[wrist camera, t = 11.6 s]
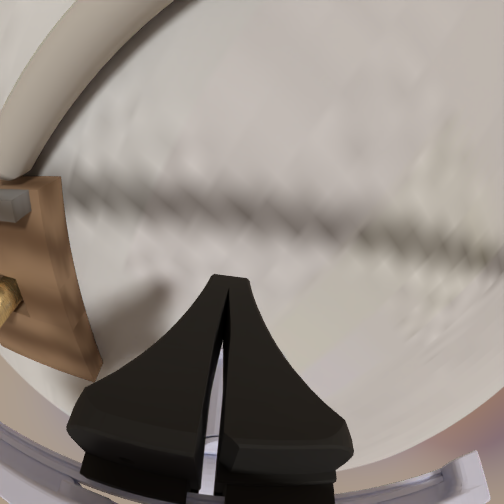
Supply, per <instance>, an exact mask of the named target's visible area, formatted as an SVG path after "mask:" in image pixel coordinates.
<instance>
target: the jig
mask: <svg viewBox="0 0 504 504" xmlns="http://www.w3.org/2000/svg"><path fill="white" fill-rule="evenodd" d="M3 276H8V277H11V278H14V279H16V281H17V284H18V287H19V289H20V292H21V295H22V297H23V299H22V301H21V302H20V303H19V304H18V306H17V307H16V308H15V309H14V311H13V312H12V313H11V315H10V316H9V317H8V318H7V320H6V321H5V322H4V324H3V325H2V327H1V328H0V343H1V345H2V346H3V347H5V348H8V349H10V350H12V351H14V352H16V353H18V354H20V355H23V356H25V357H27V358H30V359H32V360H34V361H37V362H39V363H41V364H44V365H47V366H49V367H52V368H54V369H57V370H60V371H62V372H65V373H68V374H71V375H74V376H77V377H80V378H83V379H86V380H89V381H92V382H95V380H96V378H97V376H98V373H99V371H100V369H101V366H102V364H103V362H102V359H101V356H100V353H99V351H98V348H97V345H96V342H95V339H94V336H93V333H92V330H91V327H90V324H89V321H88V317H87V314H86V311H85V307H84V304H83V300H82V296H81V293H80V289H79V285H78V281H77V276H76V272H75V268H74V263H73V258H72V253H71V248H70V243H69V237H68V231H67V225H66V218H65V211H64V203H63V194H62V184H61V177H58V176H21V177H20V178H17V179H13V180H10V181H8V180H2V179H0V279H1V278H2V277H3Z"/></svg>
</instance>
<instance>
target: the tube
mask: <svg viewBox="0 0 504 504" xmlns="http://www.w3.org/2000/svg"><path fill="white" fill-rule="evenodd" d="M173 1H174V0H76V1H75V2H74V4H73V5H72V6H71V7H70V8H69V9H68V10H67V11H66V13H65V14H64V15H63V16H62V17H61V19H60V20H59V21H58V22H57V23H56V25H55V26H54V27H53V28H52V30H51V31H50V32H49V34H48V35H47V36H46V38H45V39H44V40H43V42H42V43H41V45H40V46H39V47H38V49H37V50H36V52H35V53H34V55H33V56H32V58H31V59H30V61H29V62H28V64H27V65H26V67H25V68H24V70H23V72H22V73H21V75H20V77H19V78H18V80H17V82H16V84H15V85H14V87H13V89H12V91H11V93H10V94H9V96H8V98H7V100H6V102H5V104H4V106H3V108H2V110H1V112H0V179H2V180H8V181H10V180H13V179H17V178H20V177H21V176H22V175H24V174H25V173H27V172H28V171H30V170H31V169H32V167H33V165H34V163H35V161H36V160H37V158H38V156H39V154H40V153H41V151H42V149H43V148H44V146H45V144H46V143H47V141H48V139H49V138H50V136H51V135H52V133H53V132H54V130H55V129H56V127H57V126H58V124H59V123H60V121H61V120H62V118H63V117H64V115H65V114H66V113H67V111H68V110H69V108H70V107H71V106H72V104H73V103H74V102H75V100H76V99H77V98H78V96H79V95H80V94H81V92H82V91H83V90H84V89H85V87H86V86H87V85H88V84H89V83H90V81H91V80H92V79H93V78H94V77H95V75H96V74H97V73H98V72H99V71H100V70H101V68H102V67H103V66H104V65H105V64H106V63H107V62H108V61H109V60H110V59H111V57H112V56H113V55H114V54H115V53H116V52H117V51H118V50H119V49H120V48H121V47H122V46H123V45H124V44H125V43H126V42H127V41H128V40H129V39H130V38H131V37H132V36H133V35H134V34H135V33H136V32H138V31H139V30H140V29H141V28H142V27H143V26H144V25H145V24H146V23H147V22H149V21H150V20H151V19H152V18H153V17H154V16H156V15H157V14H158V13H159V12H160V11H162V10H163V9H164V8H165V7H166V6H168V5H169V4H170V3H172V2H173Z"/></svg>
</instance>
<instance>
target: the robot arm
mask: <svg viewBox="0 0 504 504" xmlns="http://www.w3.org/2000/svg"><path fill="white" fill-rule="evenodd" d="M222 342H223V349H221V346H222ZM67 432H68V434H69V435H70V436H71V438H72V439H73V440H74V441H75V442H76V443H77V444H78V445H79V446H80V447H81V448H82V449H83V450H84V451H85V456H84V459H83V462H82V463H80V462H77V461H75V460H72V459H70V458H68V457H65V456H63V455H61V454H58V453H56V452H54V451H52V450H50V449H48V448H46V447H44V446H42V445H40V444H38V443H36V442H34V441H32V440H30V439H29V438H27V437H25V436H23V435H21V434H20V433H18V432H16V431H15V430H13V429H11V428H10V427H8V426H6V425H5V424H3V423H2V422H0V497H2V498H3V499H4V500H6V501H7V502H8V503H9V504H117V503H115V502H113V501H111V500H110V499H109V498H107V497H104V496H102V495H99V494H97V493H94V492H92V491H89V490H87V489H85V488H83V487H82V486H81V485H80V483H81V484H84V485H87V486H89V487H91V488H94V489H97V490H100V491H102V492H106V493H108V494H111V495H114V496H118V497H121V498H124V499H128V500H131V501H134V502H138V503H142V504H485V503H487V502H488V501H489V500H490V494H489V490H488V486H487V482H486V479H485V475H484V471H483V468H482V464H481V461H480V458H479V455H478V452H477V451H476V450H474V451H472V452H470V453H468V454H465V455H463V456H461V457H458V458H456V459H454V460H452V461H451V462H449V463H447V464H446V465H444V466H443V467H442V468H440V469H437V470H435V471H432V472H429V473H426V474H423V475H420V476H417V477H413V478H410V479H406V480H403V481H399V482H395V483H391V484H387V485H383V486H379V487H374V488H369V489H364V490H359V491H353V492H346V493H340V494H334V488H333V483H334V482H336V469H338V468H339V467H340V466H342V465H343V464H345V463H346V462H347V461H348V460H349V459H350V458H351V457H352V456H353V453H354V449H353V444H352V439H351V436H350V433H349V430H348V427H347V424H346V421H345V420H344V419H343V418H342V417H341V416H339V415H338V414H337V413H336V412H335V411H333V410H332V409H331V408H330V407H329V406H328V405H326V404H325V403H324V402H323V401H322V400H321V399H320V398H319V397H318V396H317V395H316V394H315V393H314V392H313V391H312V390H311V389H310V388H309V387H308V385H307V384H306V383H305V382H304V381H303V380H302V378H301V377H300V376H299V375H298V374H297V373H296V371H295V370H294V369H293V368H292V366H291V365H290V364H289V362H288V361H287V360H286V358H285V356H284V355H283V354H282V352H281V351H280V349H279V348H278V346H277V345H276V343H275V341H274V340H273V338H272V336H271V334H270V332H269V331H268V329H267V327H266V325H265V323H264V321H263V319H262V316H261V314H260V312H259V310H258V307H257V305H256V302H255V299H254V296H253V293H252V290H251V286H250V281H249V280H248V279H247V278H241V277H233V276H225V275H218V274H214V275H212V276H211V277H210V279H209V281H208V283H207V285H206V286H205V288H204V289H203V291H202V292H201V294H200V295H199V296H198V298H197V299H196V300H195V302H194V303H193V304H192V306H191V307H190V308H189V309H188V311H187V312H186V313H185V314H184V315H183V316H182V317H181V318H180V319H179V321H178V322H177V323H176V324H175V325H174V326H173V327H172V328H171V329H170V330H169V331H168V332H167V333H166V334H165V335H164V336H163V337H161V338H160V339H159V340H158V341H157V342H156V343H155V344H153V345H152V346H151V347H150V348H148V349H147V350H146V351H145V352H143V353H142V354H141V355H139V356H138V357H137V358H135V359H134V360H132V361H131V362H129V363H128V364H126V365H125V366H123V367H122V368H120V369H119V370H117V371H115V372H114V373H112V374H110V375H108V376H107V377H105V378H103V379H101V380H99V381H97V382H95V383H93V384H91V385H89V386H87V387H85V389H84V390H83V392H82V394H81V395H80V397H79V398H78V400H77V402H76V404H75V406H74V408H73V411H72V414H71V416H70V419H69V421H68V424H67ZM78 482H79V483H78Z"/></svg>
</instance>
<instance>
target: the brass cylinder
mask: <svg viewBox="0 0 504 504" xmlns="http://www.w3.org/2000/svg"><path fill="white" fill-rule="evenodd" d="M22 299H23V297H22V295H21V292H20V289H19V287H18V284H17V281H16V279H14V278H11V277H8V276H3V277H2V278H1V279H0V328H1V327H2V325H3V324H4V322H5V321H6V320H7V318H8V317H9V316H10V315H11V313H12V312H13V311H14V309H15V308H16V307H17V306H18V304H19V303H20V302H21V301H22Z"/></svg>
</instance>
